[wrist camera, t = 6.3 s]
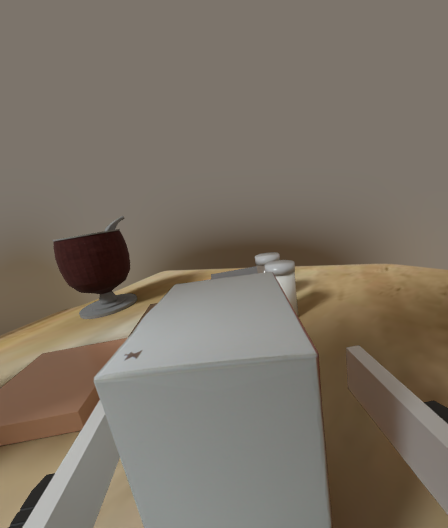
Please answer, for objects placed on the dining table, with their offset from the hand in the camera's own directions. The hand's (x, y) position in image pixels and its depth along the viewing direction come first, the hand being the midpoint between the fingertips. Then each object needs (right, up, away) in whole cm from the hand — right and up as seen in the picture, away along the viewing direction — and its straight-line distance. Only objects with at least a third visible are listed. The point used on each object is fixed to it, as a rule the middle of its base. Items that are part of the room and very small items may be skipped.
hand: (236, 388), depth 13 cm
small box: (+1, -7, 0) cm, 7 cm away
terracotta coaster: (-19, -8, +13) cm, 25 cm away
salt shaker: (+9, -1, +21) cm, 23 cm away
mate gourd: (-27, -3, +40) cm, 49 cm away
